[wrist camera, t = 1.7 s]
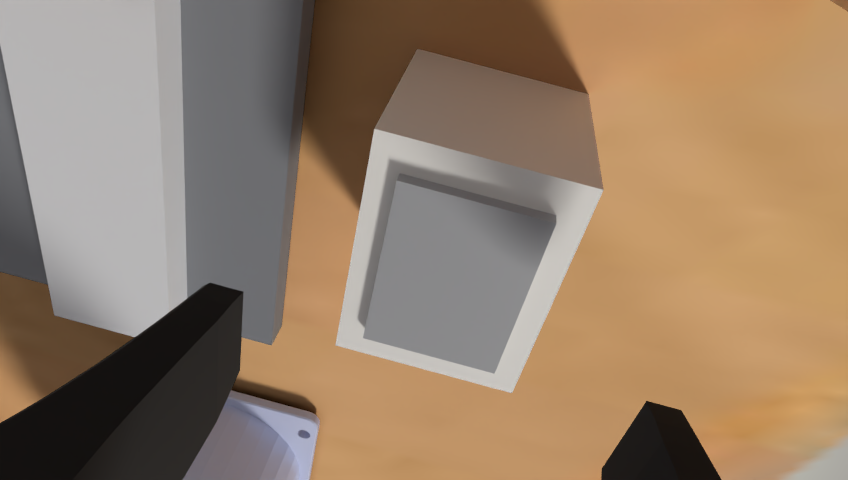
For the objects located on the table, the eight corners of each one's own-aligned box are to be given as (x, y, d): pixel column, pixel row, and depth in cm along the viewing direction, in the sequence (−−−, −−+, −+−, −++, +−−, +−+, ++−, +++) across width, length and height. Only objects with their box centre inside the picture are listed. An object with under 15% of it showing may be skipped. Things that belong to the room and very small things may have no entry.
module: (519, 270, 19) (511, 402, 15) (379, 233, 19) (332, 354, 15) (588, 92, 16) (604, 197, 11) (418, 47, 16) (370, 135, 12)
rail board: (281, 325, 22) (222, 440, 18) (13, 253, 22) (-106, 351, 18) (366, -506, 10) (254, -706, 6) (-200, -654, 11) (-664, -943, 6)
